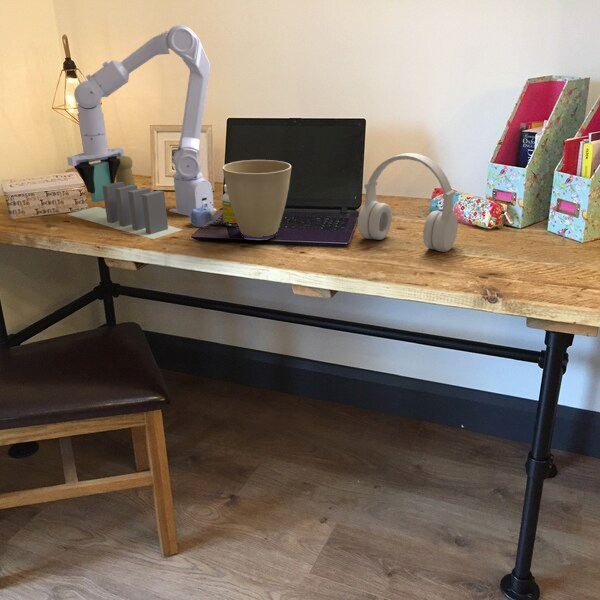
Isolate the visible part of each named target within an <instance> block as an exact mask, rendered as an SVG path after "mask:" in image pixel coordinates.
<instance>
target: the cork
mask: <svg viewBox="0 0 600 600" xmlns="http://www.w3.org/2000/svg"><path fill="white" fill-rule="evenodd" d="M117 159H120V165H119V167H118V170H117V173H116V177H115V183H116V182H124V184H125V186H128V185H132V184H133V185H136V182H135V179H134V175H133V170H132V168H133V159H132V158H131V157H130V156H126V155H124V156H123V157H117Z"/></svg>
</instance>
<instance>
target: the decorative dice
mask: <svg viewBox="0 0 600 600" xmlns="http://www.w3.org/2000/svg"><path fill="white" fill-rule="evenodd" d="M189 218H190V223H191V225H192V226H193V227H196V228H202V227H201V226H203V225H204V224H205V223H207V222H209V221H213V222H214V215H213V212H211V210H210V209H208V208H196V209H193V210H192V212H191V214H190V216H189Z"/></svg>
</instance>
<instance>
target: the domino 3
mask: <svg viewBox="0 0 600 600" xmlns="http://www.w3.org/2000/svg"><path fill="white" fill-rule="evenodd" d="M136 189H138V185H137V184H135V185H133V184H132V185H128V186H124V187H119V188H115V193H116V200H117V208H118V216H119V223H120V226H123V227H126V226H129V225H132V220H131V212H130V203H129V195H128V191H132V190H136Z"/></svg>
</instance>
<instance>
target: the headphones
mask: <svg viewBox="0 0 600 600" xmlns="http://www.w3.org/2000/svg"><path fill="white" fill-rule="evenodd" d="M401 160H409V161H414V162H418V163H421V164H422V165H423V166H425V167H426V168H428V169H429V170H430V172H431V173H433V175H434V176H435V178H436V179H437V180H438V182H439V185H440V188H441V189H442V192H443V195H442V199H443V205H442V211H440V210H432V211H431V212H430V213H429V214H428V215H427V217H426V220H425V223H424V226H423V232H422V234H423V235H422V239H423V244H424V246H425V247H426V248H427V249H430V250H435V251H438V252H441V253H447V252H448V251H450V250H451V249H452V248H453V246H454V244H455V242H456V238H457V233H458V228H459V227H458V226H459V225H458V224H459V223H458V217H457V215H456V214H455V212H454V207H453V206H454V196H455V195H456V192H455V190H454V189H452V186H451V184H450V181H449V179H448V177H447V175H446V174H445V172H444V171H443V169H442V167H440V166H439V164H437V162H435V161H434V160H432V159H431V158H429V157H428V156H425V155H422V154H420V153H415V152H406V153H400V154H398V155H397V154H396V155H394V156H392V157H390V158H387V159H386V160H384V161H382V162H381V163H380V164H379V165H378V166H377V167H376V168H375V169H374V171H373V172H372V174H371V175H370V178H369V179H368V181H367V183H365V184H364V189H365V199H364V204H363V205H362V207H361V208H360V211H359V214H358V217H357V228H358V232H359V234H360V236H361V237H362V238H364V239H367V240H383V239H385V238H386V237H387V235H388V234H389V231H390V229H391V225H392V222H393V221H392V219H393V216H392V215H393V214H392V209H391V206H390V205H389V204H387V203H385V202H380V201H378V200H377V190H376V189H377V188H376V187H377V185H378V182H377V180H379V177H380V175H381V174H382V173H383V171H384V170H385V169H386V168H387V166H389V165H391V164H392V163H393V162H397V161H401Z"/></svg>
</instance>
